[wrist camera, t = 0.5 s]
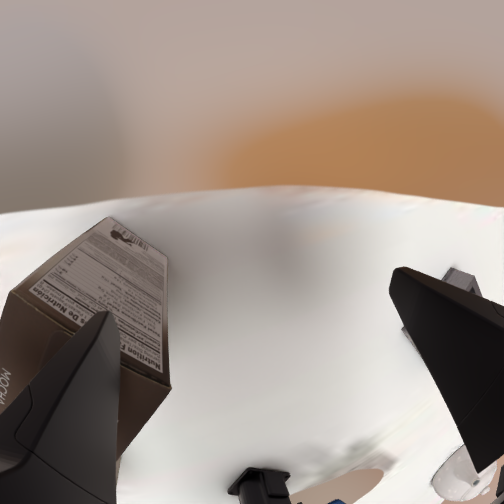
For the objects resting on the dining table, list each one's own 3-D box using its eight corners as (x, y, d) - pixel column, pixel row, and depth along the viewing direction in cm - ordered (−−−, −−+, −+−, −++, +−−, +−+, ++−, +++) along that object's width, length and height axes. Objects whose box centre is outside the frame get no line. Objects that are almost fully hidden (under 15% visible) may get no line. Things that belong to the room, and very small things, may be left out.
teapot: (415, 497, 44) (441, 530, 31) (445, 451, 41) (480, 488, 28) (465, 468, 48) (490, 494, 35) (493, 420, 44) (526, 447, 31)
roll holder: (428, 367, 32) (446, 381, 29) (401, 329, 30) (422, 344, 26) (471, 313, 32) (491, 322, 28) (450, 267, 30) (474, 275, 26)
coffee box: (118, 338, 24) (93, 494, 9) (58, 300, 22) (-23, 433, 7) (171, 257, 24) (180, 394, 9) (106, 212, 21) (4, 288, 6)
